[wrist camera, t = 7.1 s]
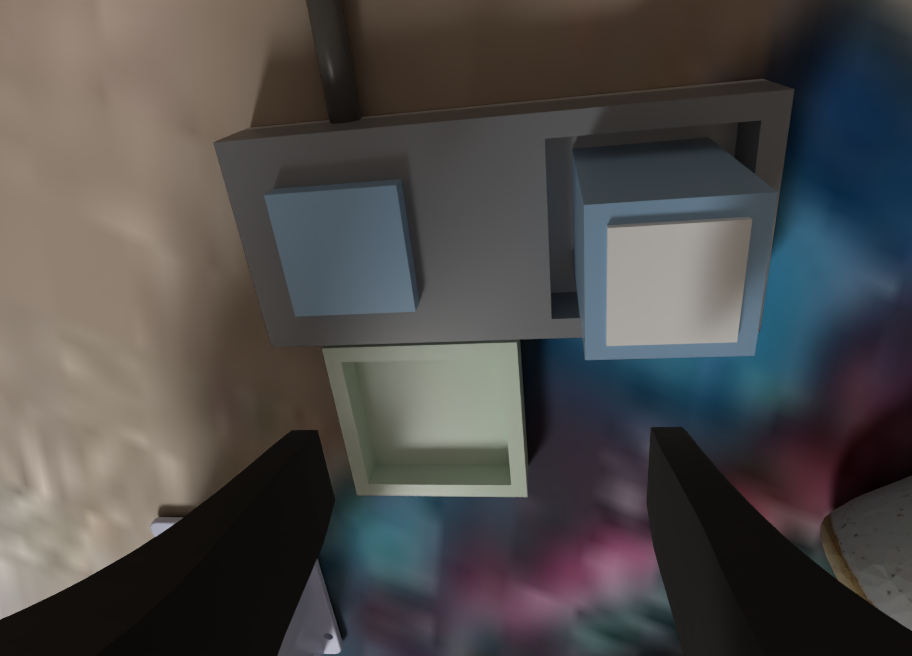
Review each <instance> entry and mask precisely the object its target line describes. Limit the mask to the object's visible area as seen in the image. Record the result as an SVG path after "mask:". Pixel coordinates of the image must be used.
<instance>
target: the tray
mask: <svg viewBox="0 0 912 656" xmlns="http://www.w3.org/2000/svg"><path fill="white" fill-rule="evenodd" d="M322 351H323V356H324V360H325V364H326V368H327V372H328V376H329V381H330V385H331V389H332V393H333V397H334V401H335V406H336V410H337V414H338V418H339V422H340V426H341V431H342V435H343V439H344V443H345V447H346V451H347V456H348V460H349V464H350V468H351V472H352V476H353V480H354V485H355V489H356V493H357V495H369V496H475V497H527V495H528V453H527V438H526V423H525V408H524V392H523V377H522V362H521V346H520V339H517V340H486V341H455V342H424V343H393V344H362V345H331V346H323V347H322Z"/></svg>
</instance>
